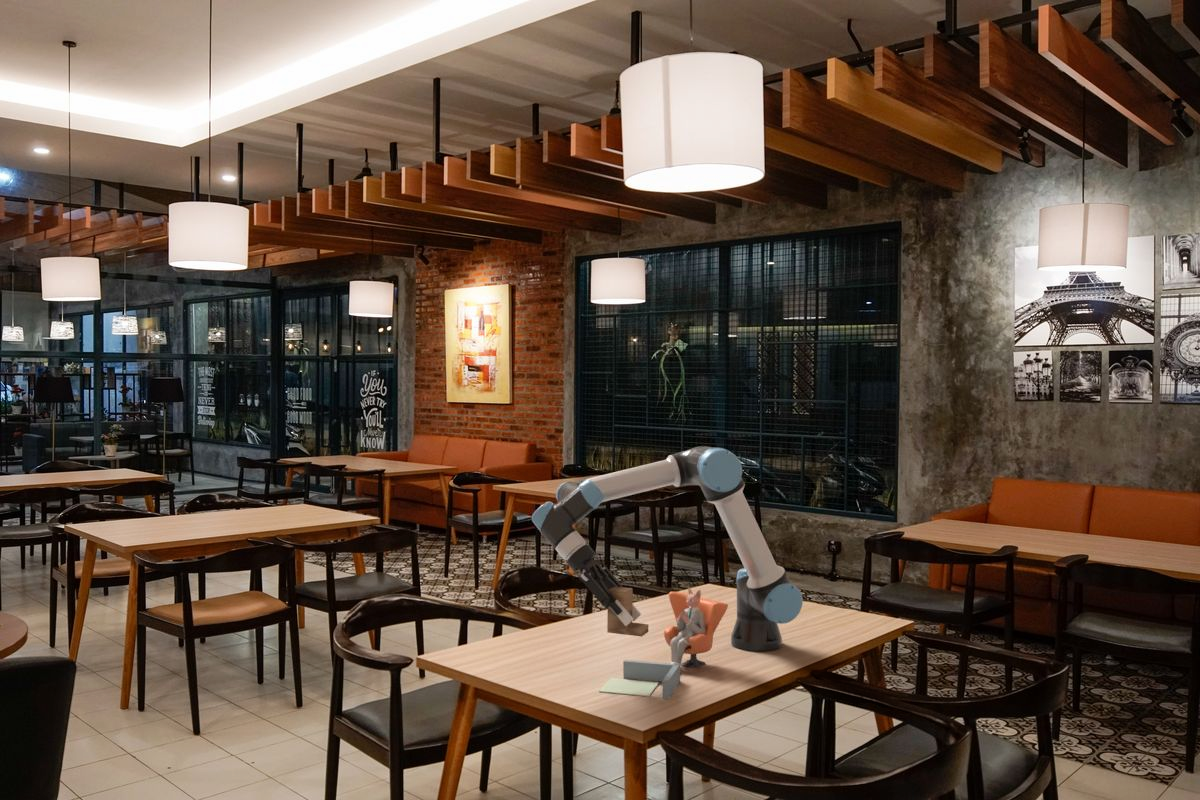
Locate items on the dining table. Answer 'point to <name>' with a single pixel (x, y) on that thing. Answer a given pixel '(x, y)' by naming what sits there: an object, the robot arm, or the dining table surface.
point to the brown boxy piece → (626, 600)
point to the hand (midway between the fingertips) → (633, 620)
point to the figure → (692, 626)
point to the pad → (629, 687)
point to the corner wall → (654, 674)
